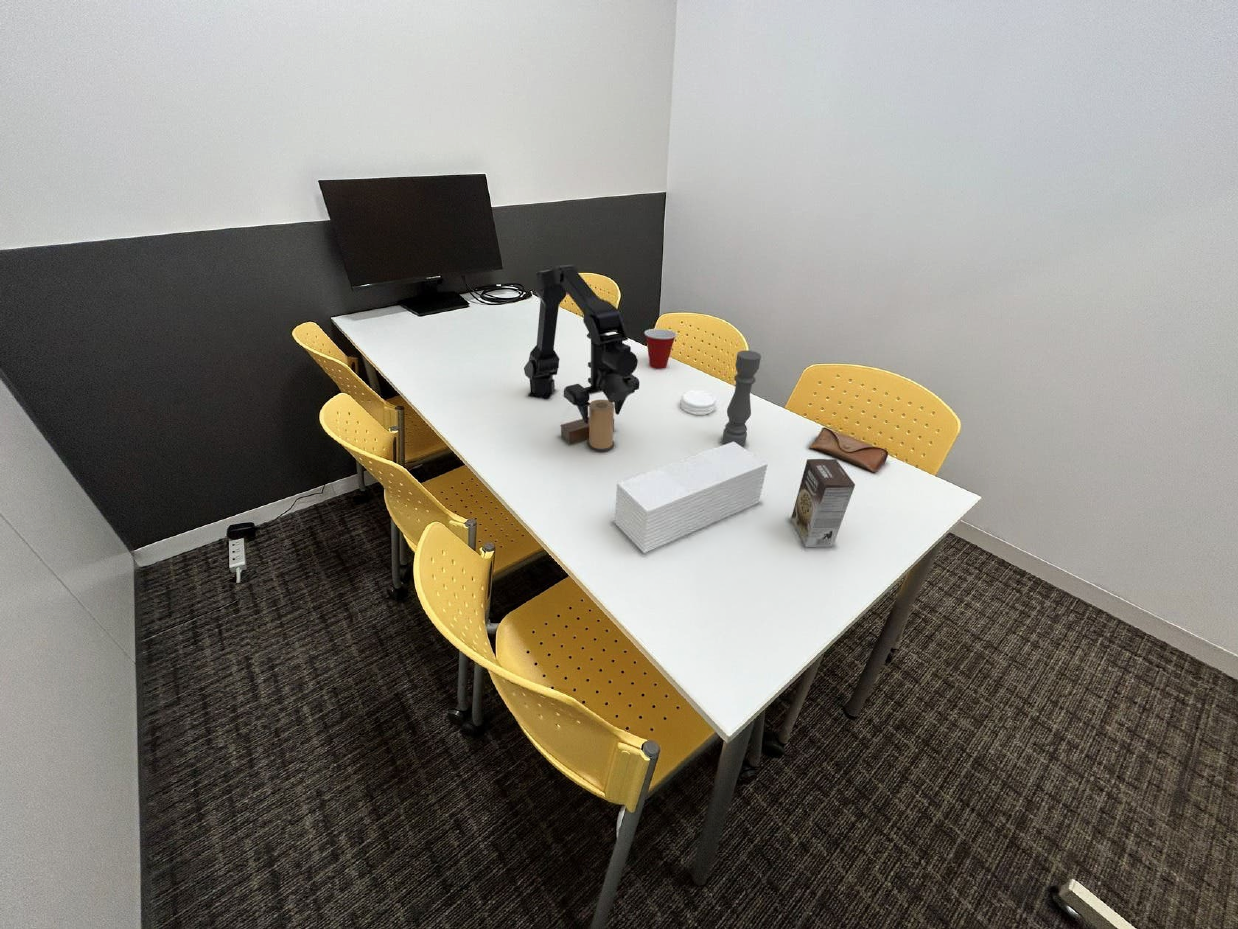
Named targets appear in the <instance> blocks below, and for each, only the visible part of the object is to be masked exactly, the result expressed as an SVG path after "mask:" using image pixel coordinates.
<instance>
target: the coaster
mask: <svg viewBox="0 0 1238 929" xmlns="http://www.w3.org/2000/svg"><path fill="white" fill-rule="evenodd" d="M680 401H681V402H680V407H681V409H682V410H683V411H685V412H686V413H689V414H691V415H695V416H705V415H708V414H711V413H713V412H714V410H715V408H716V407H715V406H716V401H717V400H716V397H715V396H714V395H713V393H710V392H708V391H705V390H699V389H697V390H696V389H693V390H688V391H685V392H684V393H682V395H681V400H680Z"/></svg>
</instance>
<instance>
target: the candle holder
mask: <svg viewBox="0 0 1238 929" xmlns="http://www.w3.org/2000/svg"><path fill="white" fill-rule="evenodd" d="M735 359H736V360H735V370H736V374H735V375H734V377H733V380H734V381H735V387H734V393H733V395H732V397H731V400H730V402H729V404H728V406H727V409H726V415H727V418H728V422H727V423H726V424H725V425H724V429H723V431H722V438H721V444H722V445H725V444H728V443H731V442H735V443H737V444H738V445H740V446H741V447H743V448H744V447H745V446H746V442H747V439H748V438H747V437H748V432H747V431H748V426H747V425H746V423H747V421H748V420H749V419H750V417H751V416H752V407H751V405H752V404H751V391H752V386H753V384H755V382H756V380H757V379H756V377H755V375H756V374H757V373H758V371H759V369H760V366H761V365H760V364H761V359H762V355H761V354H760V353H759V352H756V351H754V350H746V349H745V350H740V351H738V352H737V354H736V358H735Z"/></svg>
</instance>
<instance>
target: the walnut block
mask: <svg viewBox="0 0 1238 929" xmlns="http://www.w3.org/2000/svg"><path fill="white" fill-rule="evenodd" d="M614 431H615V420H614V421H613V432H614ZM560 437H561V438H562V440H564V441H565V442H566V443H567V444H568V445H572V444H575V443H579V442H582V441H585V440H589V416H588V423H587V424H586V423H585V422H584V420H583V418H579V419H576V420H573V421H569V422H566V423H562V424H560Z"/></svg>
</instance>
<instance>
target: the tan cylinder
mask: <svg viewBox="0 0 1238 929" xmlns="http://www.w3.org/2000/svg"><path fill="white" fill-rule="evenodd" d="M589 403H590V405H589V406H588V417H589V438H588V441H587V447H588V448H589V449H590V450H591V451H594V452H595V453H596V452H597V453H605V452H609V451H611V450H613V449H614V447H615V441H614V431H613V421H614V422H615V418H614V417H615V416H614V415H615V408H614V403H612V402H609V401H608V399H595V400H592V401H590V402H589Z"/></svg>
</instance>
